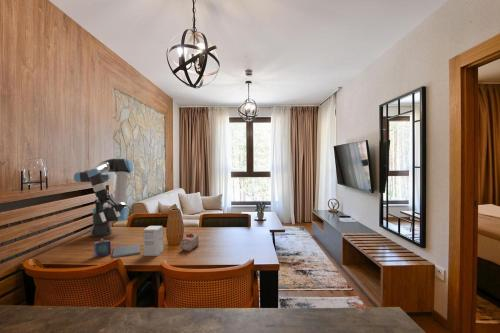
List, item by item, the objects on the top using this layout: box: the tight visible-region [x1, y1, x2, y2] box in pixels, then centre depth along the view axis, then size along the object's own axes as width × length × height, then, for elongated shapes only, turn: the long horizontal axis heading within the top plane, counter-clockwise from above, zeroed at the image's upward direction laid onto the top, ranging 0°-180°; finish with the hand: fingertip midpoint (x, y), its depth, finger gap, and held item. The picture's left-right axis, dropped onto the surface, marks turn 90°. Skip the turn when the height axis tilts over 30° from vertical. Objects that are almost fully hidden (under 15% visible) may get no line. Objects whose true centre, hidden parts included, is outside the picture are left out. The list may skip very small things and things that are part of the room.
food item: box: [180, 233, 200, 252], centre depth 176 cm, size 14×8×10 cm, turn 166°
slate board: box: [111, 243, 141, 259], centre depth 172 cm, size 18×16×1 cm
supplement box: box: [142, 225, 164, 257], centre depth 168 cm, size 10×9×17 cm
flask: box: [93, 238, 112, 258], centre depth 165 cm, size 9×3×11 cm, turn 117°
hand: (111, 218), depth 180 cm, fingers open, 13 cm apart
